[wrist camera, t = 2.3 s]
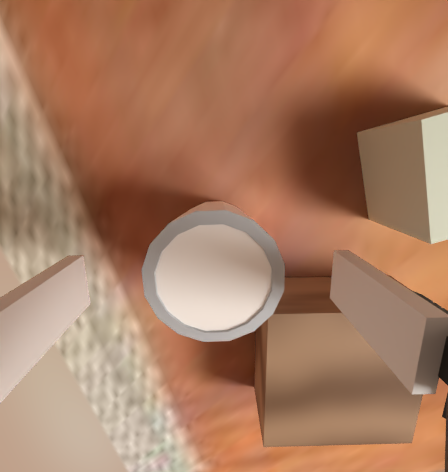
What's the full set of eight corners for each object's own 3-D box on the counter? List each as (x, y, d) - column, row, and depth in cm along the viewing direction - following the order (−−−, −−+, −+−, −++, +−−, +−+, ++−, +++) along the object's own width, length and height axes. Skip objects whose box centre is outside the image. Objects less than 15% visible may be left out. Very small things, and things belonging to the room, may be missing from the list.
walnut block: (256, 277, 21) (268, 314, 16) (389, 275, 21) (441, 310, 16) (254, 387, 23) (263, 447, 18) (372, 384, 23) (411, 443, 19)
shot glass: (147, 229, 19) (109, 266, 13) (226, 171, 18) (231, 177, 12) (205, 300, 21) (199, 367, 14) (281, 250, 20) (313, 296, 13)
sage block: (356, 132, 18) (421, 119, 12) (448, 106, 18) (560, 80, 12) (368, 219, 20) (430, 243, 14) (453, 196, 19) (553, 212, 13)
